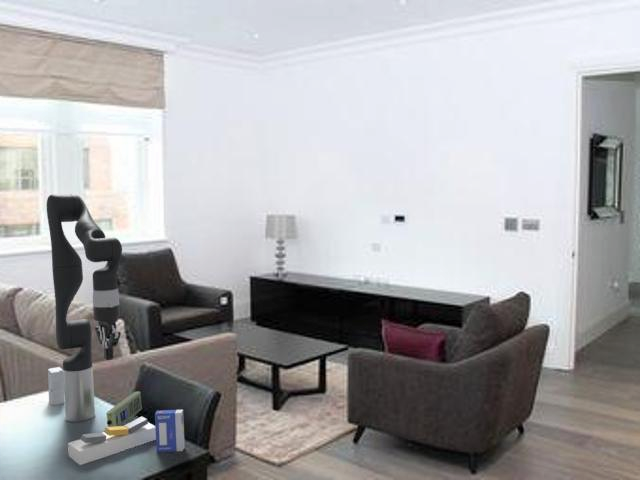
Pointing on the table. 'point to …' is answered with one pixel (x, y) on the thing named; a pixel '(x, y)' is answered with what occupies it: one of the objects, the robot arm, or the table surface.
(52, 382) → the skincare box
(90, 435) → the grey flat block
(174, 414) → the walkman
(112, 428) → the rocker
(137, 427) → the block
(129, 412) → the handheld radio
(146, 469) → the table surface
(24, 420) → the table surface
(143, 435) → the power strip
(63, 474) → the table surface
